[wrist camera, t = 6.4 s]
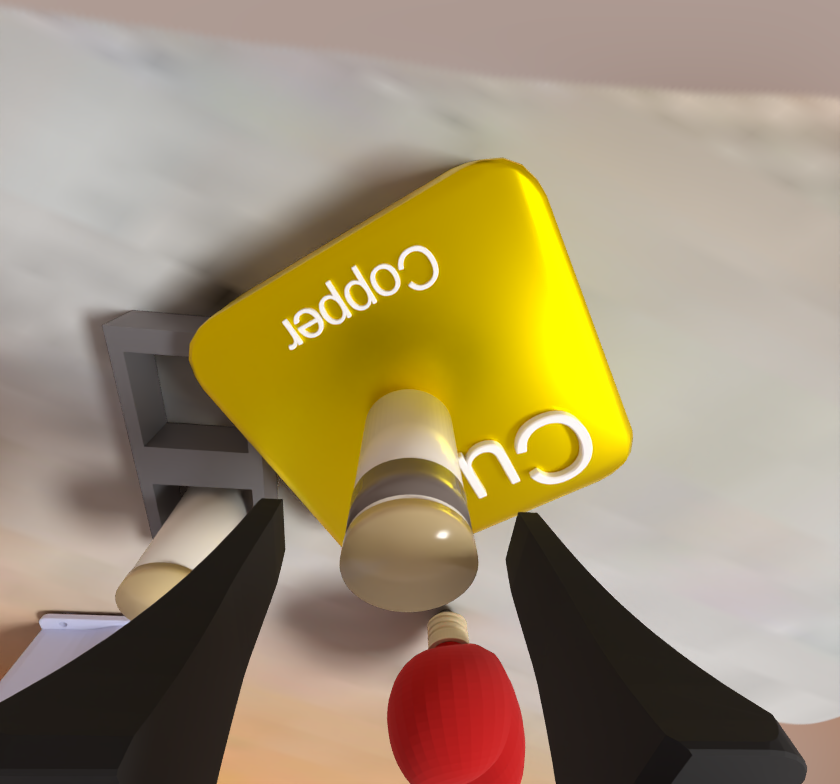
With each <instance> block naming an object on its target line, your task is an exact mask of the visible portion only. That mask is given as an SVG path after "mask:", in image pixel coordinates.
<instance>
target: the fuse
mask: <svg viewBox="0 0 840 784" xmlns="http://www.w3.org/2000/svg"><path fill="white" fill-rule="evenodd" d="M253 507H254V506H253V495H252V490H250V489H232V488H214V487H197V486H190V487H189V488H188V490H187V491H186V492H185V494H184V495H183V497H182V498H181V500H180V501H179V503H178V504H177V506H176V507H175V508H174V510H173V511H172V513H171V514H170V516H169V517H168V519H167V520H166V521H165V523H164V524H163V526H162V527H161V529H160V530H159V532H158V533H157V535H156V536H155V537H154V539H153V540H152V542H151V543H150V545H149V546H148V548H147V549H146V550H145V552H144V553H143V555H142V556H141V558H140V559H139V561H138V562H137V564H136V565H135V566H134V568H133V569H132V570H131V571H130V572H129V573H128V575H127V576H126V577H125V579H124V580H123V582H122V583H121V584H120V586H119V587H118V589H117V591H116V595H115V600H116V604H117V606H118V608H119V610H120V611H121V612H122V614H123V615H124V616H125V617H126V618H128V619H129V620H130V621H131V620H133V619H134V618H135V617H136V616H138V615H139V614H140V613H142V612H143V611H144V610H146V609H147V608H148V607H150V606H151V605H152V604H154V603H155V602H156V601H157V600H158V599H160V598H161V597H162V596H163V595H165V594H166V593H167V592H168V591H169V590H171V589H172V588H173V587H174V586H175V585H176V584H178V583H179V582H180V581H181V580H182V579H183V578H184V577H186V576H187V575H188V574H189V573H190V572H191V571H192V570H193V569H194V568H195V567H196V566H197V565H198V564H199V563H200V562H202V561H203V560H204V559H205V558H206V557H207V556H208V555H209V554H210V553H211V552H212V551H213V550H214V549H215V548H216V547H217V546H218V545H219V544H220V543H221V542H222V541H223V540H224V539H225V537H226V536H227V535H228V534H229V533H230V532H231V531H232V530H233V529H234V528H235V527H236V526H237V525H238V524H239V522H240V521H241V520H242V519H243V518H244V517H245V516H246V515H247V513H248V512H249V511H250V510H251V509H252V508H253Z"/></svg>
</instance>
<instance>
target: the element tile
mask: <svg viewBox="0 0 840 784" xmlns="http://www.w3.org/2000/svg"><path fill="white" fill-rule="evenodd" d="M189 362H190V365H191V367H192V370H193V373H194V376H195V378H196V379H197V381H198V382H199V384H200V385H201V387H202V389H203V390H204V391H205V392H206V393H207V394H208V396H209V397H210V398H211V399H212V400H213V401H214V402H215V404H216V405H217V406H218V407H219V408H220V409H221V410H222V411H223V413H224V414H225V415H226V416H227V417H228V418H229V419H230V421H231V422H232V423H233V424H234V425H235V426H236V427H237V429H238V430H239V431H240V432H241V433H242V434H243V435H244V437H245V438H246V439H247V440H248V441H249V442H250V443H251V444H252V446H253V447H254V448H255V449H256V450H257V451H258V452H259V454H260V455H261V456H262V457H263V458H264V459H265V460H266V462H267V463H268V464H269V465H270V466H271V467H272V468H273V470H274V471H275V472H276V473H277V474H278V475H279V476H280V477H281V479H282V480H283V481H284V482H285V483H286V484H287V485H288V487H289V488H290V489H291V490H292V491H293V492H294V493H295V495H296V496H297V497H298V498H299V499H300V500H301V501H302V503H303V504H304V505H305V506H306V507H307V508H308V509H309V511H310V512H311V513H312V514H313V515H314V516H315V517H316V518H317V520H318V521H319V522H320V523H321V524H322V525H323V526H324V528H325V529H326V530H327V531H328V532H329V533H330V534H331V536H332V537H333V538H334V539H335V540H336V541H337V542H338V544H339V545H340V546H341V547H342V545H343V540H344V536H345V532H346V526H347V520H348V515H349V509H350V503H351V497H352V493H353V490H354V486H355V480H356V474H357V468H358V462H359V456H360V450H361V444H362V439H363V433H364V427H365V421H366V417H367V414H368V412H369V410H370V409H371V407H372V406H373V405H374V403H375V402H376V401H378V400H379V399H380V398H381V397H383V396H385V395H387V394H389V393H391V392H394V391H398V390H404V389H413V390H420V391H424V392H426V393H429V394H431V395H433V396H435V397H436V398H437V399H439V400H440V401H441V402H442V403H443V404H444V405H445V407H446V408H447V410H448V411H449V414H450V416H451V420H452V425H453V431H454V437H455V442H456V448H457V453H458V459H459V465H460V470H461V476H462V481H463V487H464V490H465V494H466V498H467V504H468V509H469V515H470V520H471V526H472V531H473V534H474V533H477V532H479V531H481V530H484V529H486V528H489V527H491V526H493V525H496V524H498V523H500V522H503V521H505V520H508V519H510V518H512V517H515V516H517V515H518V512H527V511H529V510H531V509H534V508H536V507H539V506H541V505H543V504H546V503H548V502H550V501H553V500H555V499H558V498H560V497H562V496H565V495H567V494H570V493H572V492H574V491H577V490H579V489H581V488H584V487H586V486H589V485H591V484H593V483H596V482H598V481H600V480H602V479H604V478H605V477H607V476H609V475H611V474H612V473H613V472H615V471H616V470H617V469H618V468H619V467H620V466H622V465H623V464H624V462H625V461H626V459H627V457H628V456H629V454H630V453H631V447H632V441H633V433H632V428H631V426H630V423H629V420H628V417H627V415H626V412H625V409H624V406H623V404H622V401H621V398H620V395H619V393H618V390H617V387H616V384H615V382H614V379H613V376H612V373H611V371H610V368H609V365H608V363H607V360H606V357H605V354H604V352H603V349H602V346H601V343H600V341H599V338H598V335H597V332H596V330H595V327H594V324H593V321H592V319H591V316H590V313H589V310H588V308H587V305H586V302H585V299H584V297H583V294H582V291H581V288H580V286H579V283H578V280H577V278H576V275H575V272H574V269H573V267H572V264H571V261H570V258H569V256H568V253H567V250H566V247H565V245H564V242H563V239H562V236H561V234H560V231H559V228H558V225H557V223H556V220H555V217H554V214H553V212H552V209H551V206H550V204H549V201H548V198H547V195H546V194H545V192H544V190H543V188H542V187H541V185H540V183H539V181H538V180H537V179H536V178H535V177H534V176H533V175H532V174H531V173H530V172H529V171H528V170H527V169H526V168H525V167H524V166H523V165H522V164H519V163H517V162H514V161H511V160H508V159H505V158H493V159H483V160H477V161H472V162H468V163H464V164H462V165H459V166H457V167H455V168H452V169H450V170H448V171H446V172H445V173H443V174H441V175H440V176H438V177H436V178H435V179H433V180H431V181H430V182H428V183H426V184H425V185H423V186H421V187H420V188H418V189H416V190H415V191H413V192H411V193H410V194H408V195H406V196H405V197H403V198H401V199H400V200H398V201H396V202H395V203H393V204H391V205H390V206H388V207H386V208H385V209H383V210H382V211H380V212H378V213H377V214H375V215H373V216H372V217H370V218H368V219H367V220H365V221H363V222H362V223H360V224H358V225H357V226H355V227H353V228H352V229H350V230H348V231H347V232H345V233H343V234H342V235H340V236H338V237H337V238H335V239H333V240H332V241H330V242H328V243H327V244H325V245H323V246H322V247H320V248H318V249H317V250H315V251H313V252H312V253H310V254H308V255H307V256H305V257H303V258H302V259H300V260H298V261H297V262H295V263H293V264H292V265H290V266H288V267H287V268H285V269H283V270H282V271H280V272H278V273H277V274H275V275H273V276H272V277H270V278H268V279H267V280H265V281H263V282H262V283H260V284H258V285H257V286H255V287H253V288H252V289H250V290H248V291H247V292H245V293H243V294H242V295H240V296H239V297H237V298H236V299H235V300H233V301H232V302H231V303H229V304H228V305H226V306H225V307H224V308H222V309H221V310H220V311H218V312H217V313H216V314H214V315H213V316H211V317H210V318H209V319H208V320H207V321H206V322H204V323H203V324H202V325H201V326H200V327H199V328H198V330H197V332H196V333H195V335H194V337H193V339H192V340H191V342H190V348H189Z"/></svg>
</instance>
